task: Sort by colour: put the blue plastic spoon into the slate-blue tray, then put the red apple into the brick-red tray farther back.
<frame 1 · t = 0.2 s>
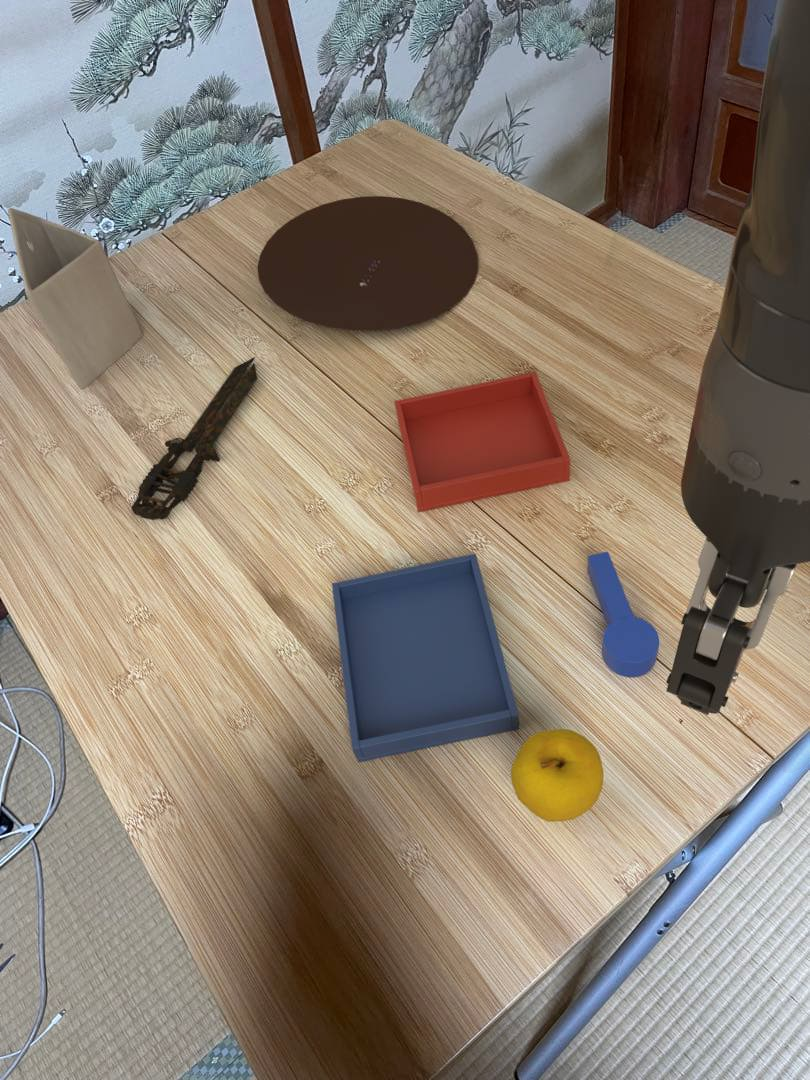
hand: (725, 638, 45), 21 cm above the table, tool pointing down, fingers open, 8 cm apart
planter: (113, 343, 107), on the table
plate: (370, 275, 108), on the table
red tray: (479, 450, 86), on the table
apple: (556, 797, 63), on the table
knife: (205, 436, 93), on the table
blue tray: (422, 659, 72), on the table
spoon: (615, 619, 72), on the table
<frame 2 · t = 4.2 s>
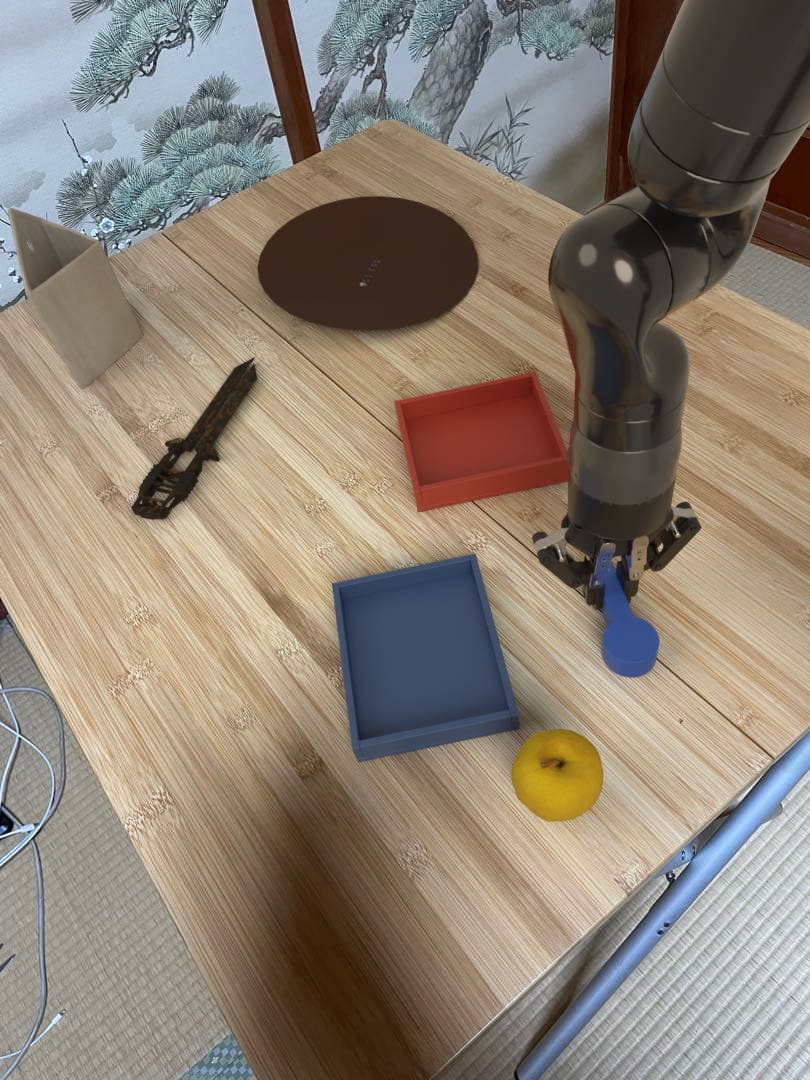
hand: (609, 597, 72), 0 cm above the table, tool pointing down, fingers closed on spoon, 2 cm apart
spoon: (615, 619, 72), on the table, touching gripper
everything else where it was.
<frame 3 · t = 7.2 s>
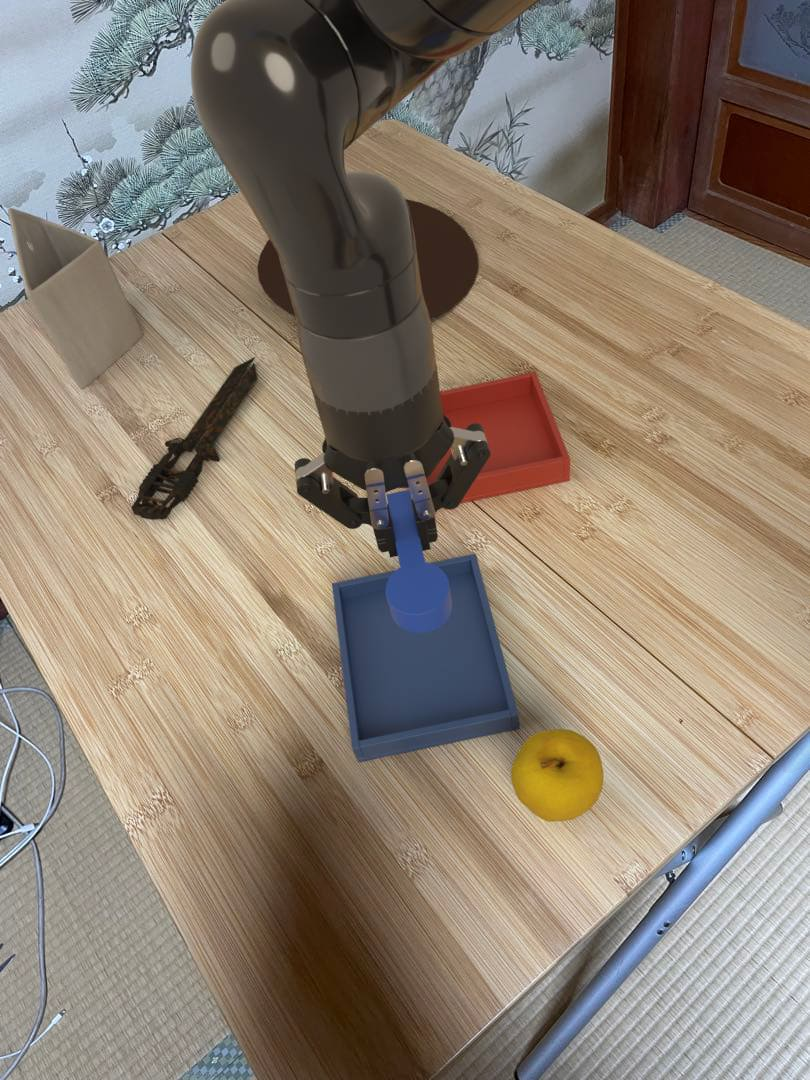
hand: (408, 544, 62), 14 cm above the table, tool pointing down, fingers closed on spoon
spoon: (413, 567, 61), point 13 cm above the table, touching gripper
everything else where it was.
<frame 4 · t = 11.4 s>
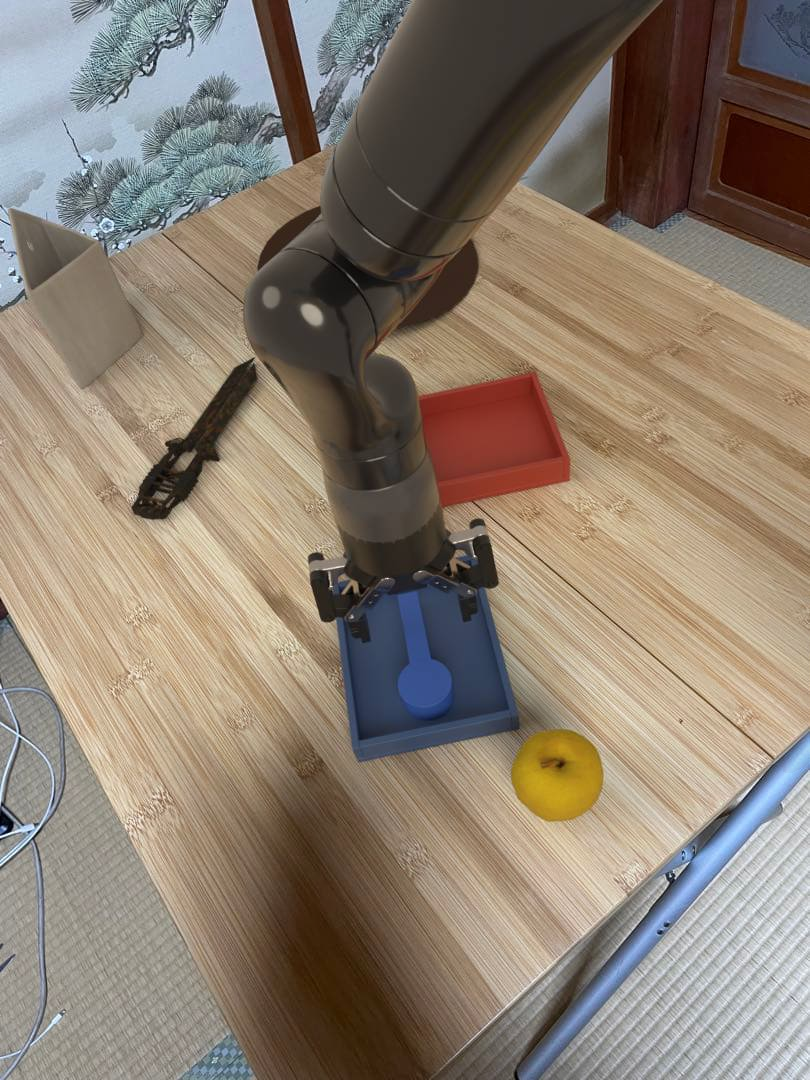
hand: (415, 623, 70), 4 cm above the table, tool pointing down, fingers open, 8 cm apart
spoon: (420, 660, 71), point 1 cm above the table, touching blue tray
everything else where it was.
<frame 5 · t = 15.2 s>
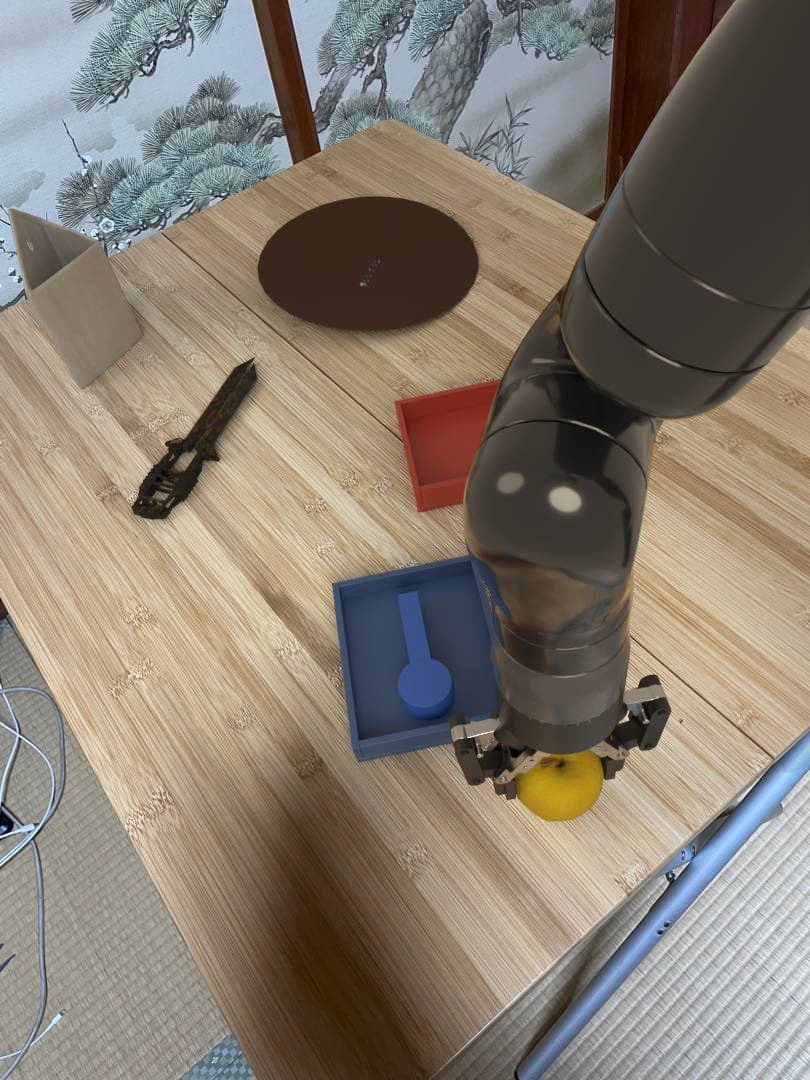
hand: (557, 776, 60), 4 cm above the table, tool pointing down, fingers closed on apple, 6 cm apart
apple: (556, 797, 63), on the table, touching gripper
everything else where it was.
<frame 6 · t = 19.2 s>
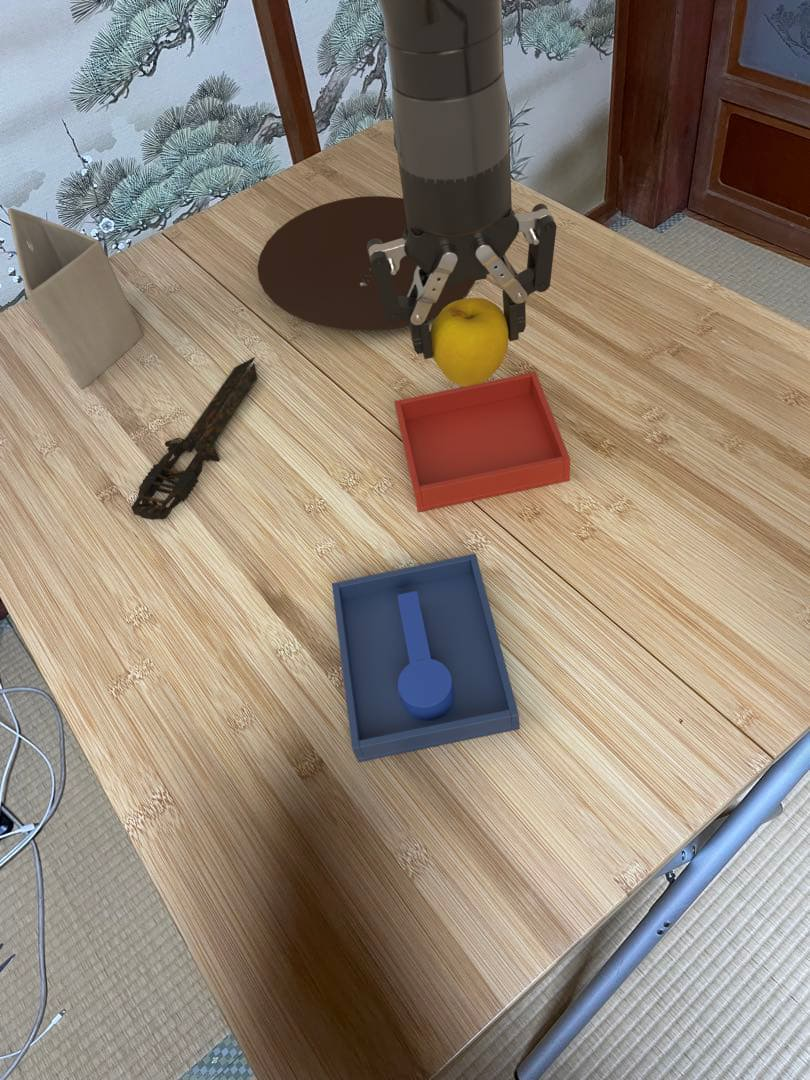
hand: (469, 343, 68), 18 cm above the table, tool pointing down, fingers closed on apple, 6 cm apart
apple: (472, 379, 72), point 14 cm above the table, touching gripper
everything else where it was.
when the fingers open (4 cm above the table, at t = 23.3 s): apple stays where it is, resting on red tray.
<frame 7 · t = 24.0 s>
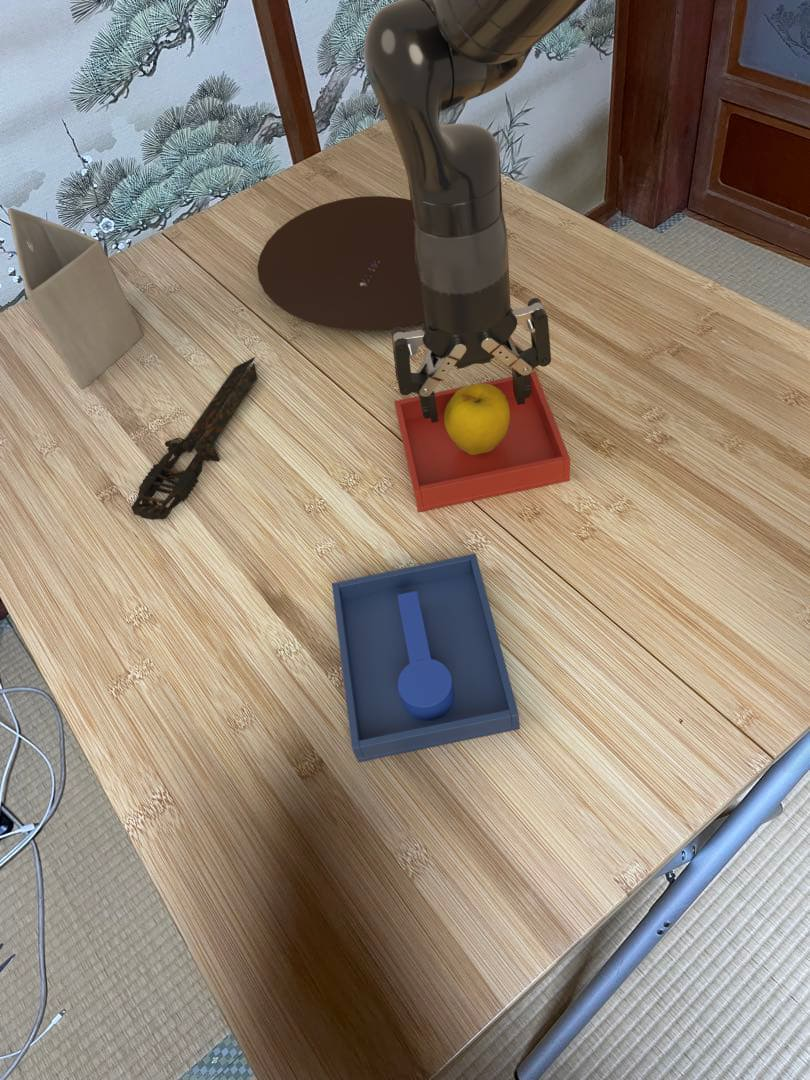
hand: (476, 407, 81), 6 cm above the table, tool pointing down, fingers open, 8 cm apart
apple: (480, 448, 86), resting on red tray
everything else where it was.
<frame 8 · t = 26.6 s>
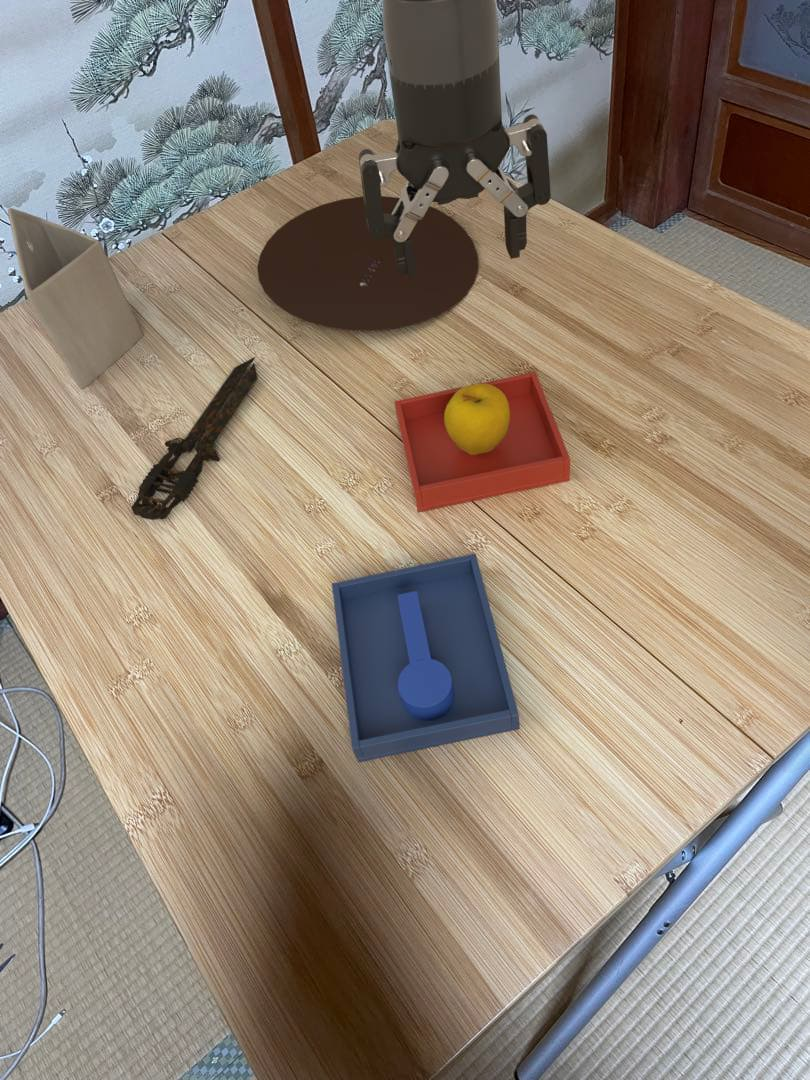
hand: (462, 263, 69), 22 cm above the table, tool pointing down, fingers open, 8 cm apart
nothing on the table moved.
at the end: spoon inside the target area in the blue tray (0.4 cm from its centre), point 0.6 cm above the blue tray's base; apple inside the target area in the red tray (0.1 cm from its centre), point 0.4 cm above the red tray's base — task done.
